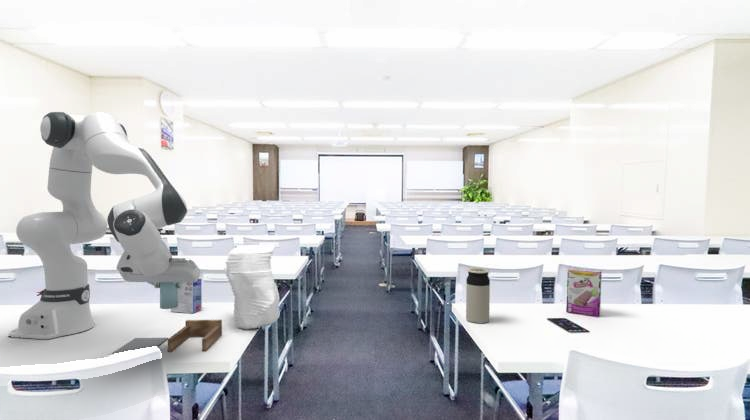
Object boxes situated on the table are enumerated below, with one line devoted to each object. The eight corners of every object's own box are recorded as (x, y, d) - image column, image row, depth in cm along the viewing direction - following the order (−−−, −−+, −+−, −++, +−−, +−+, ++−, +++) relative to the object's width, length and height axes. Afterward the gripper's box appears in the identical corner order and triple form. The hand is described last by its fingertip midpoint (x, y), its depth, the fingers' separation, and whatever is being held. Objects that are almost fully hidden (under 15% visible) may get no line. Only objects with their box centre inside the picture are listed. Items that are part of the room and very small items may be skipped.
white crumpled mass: (286, 310, 154) (285, 244, 153) (275, 335, 128) (274, 254, 127) (229, 312, 153) (228, 244, 152) (206, 337, 126) (205, 255, 125)
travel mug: (480, 325, 137) (481, 273, 137) (461, 319, 143) (462, 269, 143) (493, 320, 143) (494, 270, 142) (474, 315, 149) (475, 267, 148)
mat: (106, 357, 110) (106, 356, 110) (135, 339, 124) (135, 338, 124) (144, 357, 110) (144, 355, 110) (168, 338, 124) (168, 337, 124)
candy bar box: (566, 312, 152) (566, 269, 151) (567, 309, 156) (568, 267, 155) (599, 317, 146) (601, 272, 145) (600, 314, 150) (601, 270, 149)
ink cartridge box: (202, 309, 156) (202, 272, 155) (193, 313, 150) (193, 275, 150) (180, 308, 158) (179, 271, 157) (170, 312, 152) (169, 274, 152)
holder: (167, 351, 114) (167, 334, 114) (187, 335, 127) (187, 319, 127) (206, 351, 115) (206, 333, 114) (221, 335, 128) (221, 319, 127)
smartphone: (569, 332, 130) (545, 318, 145) (569, 334, 130) (545, 319, 145) (591, 332, 130) (565, 317, 145) (591, 333, 130) (565, 319, 145)
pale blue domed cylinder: (156, 309, 116) (156, 274, 116) (168, 302, 123) (168, 269, 123) (173, 309, 116) (173, 274, 116) (184, 302, 123) (184, 269, 123)
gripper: (195, 249, 111) (208, 277, 121) (119, 249, 110) (138, 276, 121) (188, 269, 107) (202, 295, 117) (109, 268, 106) (130, 295, 116)
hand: (169, 286), depth 119 cm, fingers closed on pale blue domed cylinder, 5 cm apart
